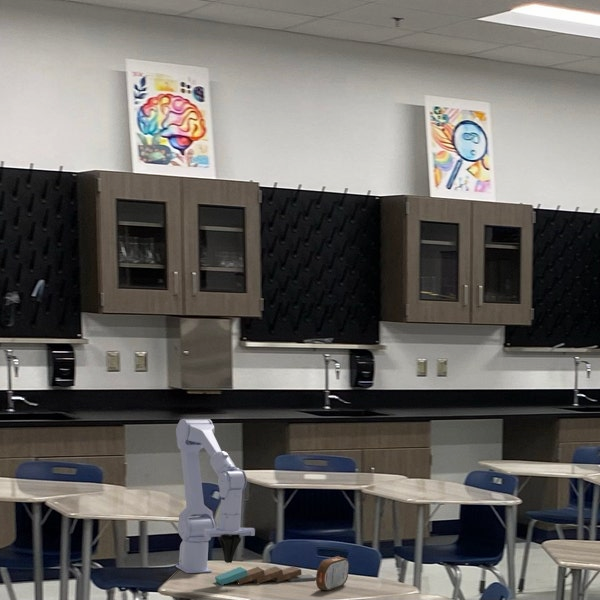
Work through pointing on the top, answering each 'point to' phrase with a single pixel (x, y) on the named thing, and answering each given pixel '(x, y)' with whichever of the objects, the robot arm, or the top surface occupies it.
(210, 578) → the top surface
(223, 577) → the teal rectangular block
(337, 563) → the tin
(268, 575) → the domino
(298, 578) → the domino
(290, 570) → the domino
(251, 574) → the domino
